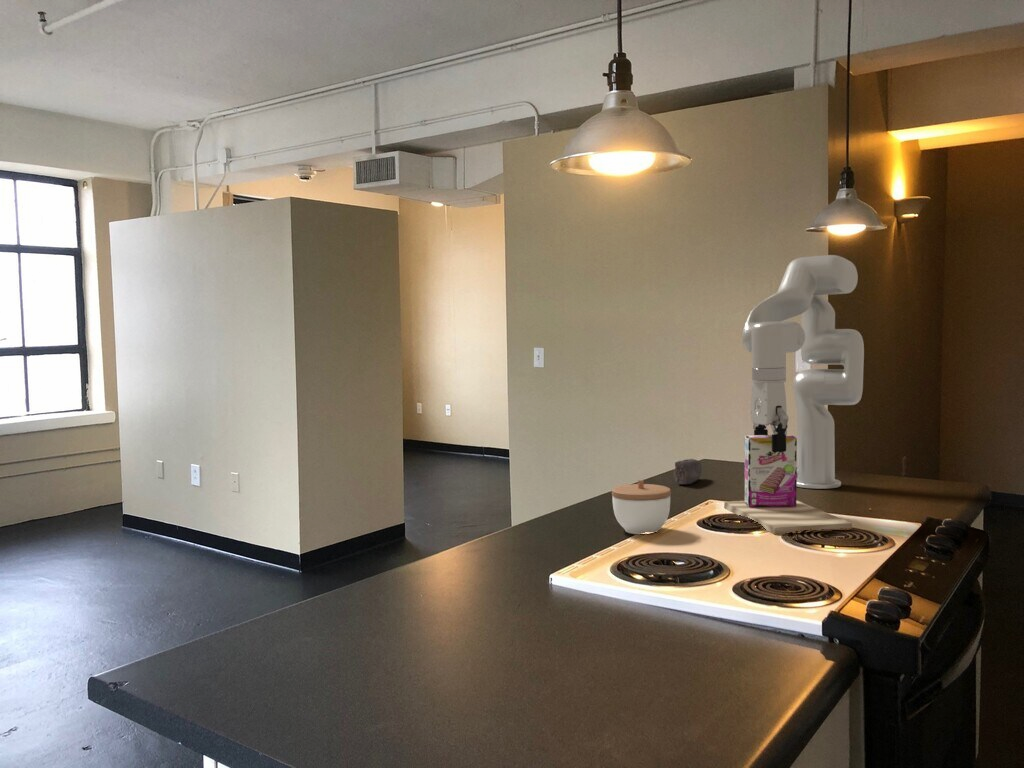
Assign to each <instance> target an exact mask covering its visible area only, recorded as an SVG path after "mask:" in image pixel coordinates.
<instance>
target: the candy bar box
mask: <svg viewBox="0 0 1024 768" xmlns="http://www.w3.org/2000/svg"><path fill="white" fill-rule="evenodd" d="M797 468H798V462H797V436H794V435H792V434H786V451H785V452H772V434H771V435H770V434H768V435H754V434H753V435H752V434H751V435H749V434H747V435H744V501H745V504H747V506H748V507H793V506H796V500H797V488H798V487H797V486H796V485H797V483H796V482H797V481H796V479H797V478H798V473H797Z"/></svg>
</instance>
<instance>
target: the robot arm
mask: <svg viewBox="0 0 1024 768" xmlns="http://www.w3.org/2000/svg"><path fill="white" fill-rule="evenodd" d="M858 276H859V275H858V271H857V267H856V265H855V264H854V263H853V262H852V261H850V260H848V259H847V258H845V257H843V256H840V255H835V254H827V255H814V256H813V255H812V256H804V257H803V256H802V257H796V258H795V259H793V260H792V261H790V262H789V264H787V266H786V269H785V271H784V275H783V276H782V279H781V282H780V283H779V284H780V285H779V287H778V289H777V292H775V293H774V294H772V295H770V296H769V297H767V298H766V299H764V300H763V301H761V302H760V303H758V304H757V305H756V306H755V307H753V309H751V311H750V312H749V314H748V317H746V320H745V323H744V326H743V329H742V333H741V334H742V335H741V342H742V345H743V348H744V349H745V350H746V351H747V352H749V353H751V382H752V385H751V392H750V393H751V396H750V421H751V422H752V423H753V425H752V426H753V427H752V428H753V435H769V429H767V427H768V426H769V425H770V427H771V430H772V434H771V435H772V452H785V451H786V435H788V431H787V429H788V427H789V426H788V423H789V415H788V414H787V412H788V411H787V398H786V397H787V395H786V386H785V383H786V382H787V366H786V365H787V356H786V355H787V354H789V353H796V352H798V351H799V350H800V355H801V359H802V361H803V362H804V363H806V364H808V365H822V366H823V365H826V366H827V365H831V366H832V365H833V366H835V365H841V366H843V368H842V369H841V368H840V369H839V368H838V369H837V368H836V369H833V368H831V369H830V368H829V369H828V368H812V369H804V370H802V371H799V372H797V373H796V375H795V376H794V378H793V382H792V389H793V395H794V400H795V406H796V426H797V427H796V435H797V436H796V438H797V467H796V468H797V479H796V481H797V482H796V483H797V485H796V487H797V488H804V489H813V490H814V489H817V490H822V489H823V490H828V489H836V488H840V487H841V486H842V482H841V480H839V479H836V478H835V477H836V474H835V472H836V471H835V467H836V465H835V462H836V461H835V457H836V455H835V452H836V451H835V442H836V441H835V420H834V417H833V416H832V414H831V412H830V411H829V410H828V408H826V406H830V405H832V406H833V405H834V406H854V405H856V404H858V403H859V402H860V401H861V399H862V395H863V390H864V366H865V363H864V360H865V347H864V346H865V345H864V344H865V343H864V339H863V336H862V335H861V333H860V332H859V331H858V330H857V329H852V328H836V312H835V311H836V310H835V309H834V307H833V306H832V304H831V303H830V302H829V301H828V300H827V299H826V298H825V297H824V295H825V296H827V295H843V294H850V293H853V291H854V290H855V289H856V287H857V285H858V280H859V279H858V278H859V277H858ZM799 315H801V324H800V323H798V322H796V321H792V320H789V319H792V318H794V317H798V316H799ZM788 320H789V321H788Z"/></svg>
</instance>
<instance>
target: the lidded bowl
mask: <svg viewBox="0 0 1024 768" xmlns="http://www.w3.org/2000/svg"><path fill="white" fill-rule="evenodd" d="M644 482H645V480H644V479H638V480H637V483H633V484H620V485H617V486H615V487H613V488H611V496H612V500H611V501H612V509H613V514H614V516H615V519H616V521H617V522H618V524H619V525H620V526H621V527H622V528H623V529H624V531H625V532H626V533H627V534H632V535H640V534H641V533H645V532H656V531H658V530H660V529H661V528H662V527H663V526H664V525H665V524H666V522H667V521H668V518H669V515H670V510H671V495H672V490H671V488H670V487H668V486H665V485H660V484H653V483H650V484H649V483H644ZM658 532H659V531H658Z"/></svg>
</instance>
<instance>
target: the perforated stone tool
mask: <svg viewBox="0 0 1024 768" xmlns="http://www.w3.org/2000/svg"><path fill="white" fill-rule="evenodd" d="M674 466H675V468H674V472H673V477H674V479H675V483H676V484H679V485H682V486H683V485H691V484H693V483H695V482H697V481H698V480H699V479H700V478H701V475H702V473H703V466H702V463H701V461H700V460H697V459H694V458H689V459H687V458H686V459H683V460H677V461H676V462H674Z"/></svg>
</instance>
